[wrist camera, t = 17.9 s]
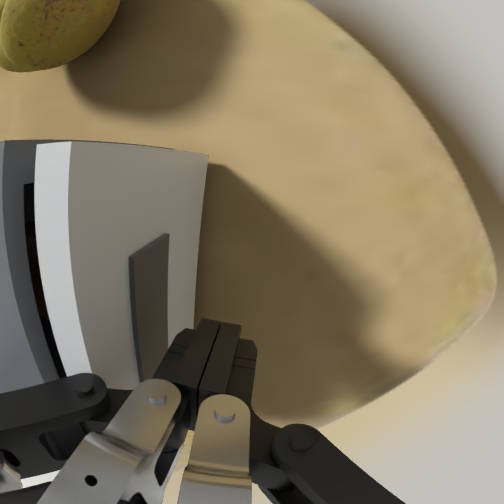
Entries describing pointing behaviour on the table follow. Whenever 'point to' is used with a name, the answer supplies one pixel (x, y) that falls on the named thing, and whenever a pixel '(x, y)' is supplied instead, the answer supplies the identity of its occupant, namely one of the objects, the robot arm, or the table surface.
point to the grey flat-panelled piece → (116, 252)
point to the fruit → (50, 31)
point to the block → (35, 269)
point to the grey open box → (22, 279)
